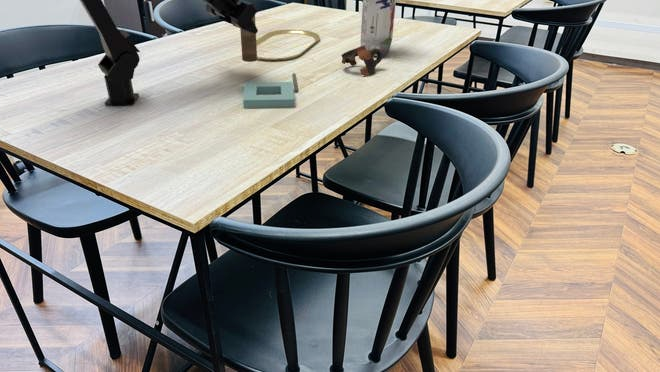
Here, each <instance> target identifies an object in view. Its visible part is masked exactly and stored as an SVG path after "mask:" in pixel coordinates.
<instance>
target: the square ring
mask: <svg viewBox="0 0 660 372" xmlns="http://www.w3.org/2000/svg"><path fill="white" fill-rule="evenodd" d="M243 89H244V90H243V98H242V102H243V109H258V108H259V109H261V108H262V109H264V108H265V109H268V108H269V109H270V108H271V109H273V108H274V109H275V108H276V109H277V108H295V95H294V84H293V81H271V82H270V81H265V82H264V81H257V82H253V81H252V82H249V81H248V82H244V88H243Z"/></svg>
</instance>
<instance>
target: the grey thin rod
mask: <svg viewBox="0 0 660 372" xmlns="http://www.w3.org/2000/svg"><path fill="white" fill-rule="evenodd" d="M292 80H293V81H292V83H293V91H294V92H295V93H298V91H299V87H298V80H297V74H296V73H295V72H293V73H292Z"/></svg>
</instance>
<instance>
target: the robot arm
mask: <svg viewBox="0 0 660 372" xmlns="http://www.w3.org/2000/svg"><path fill="white" fill-rule="evenodd" d="M79 1H80V2H79V3H81V5H82V7H83V9H84V11H85V12H86V13H87V15H88V17H89V18H90V21H92V23H93V25H94V26H95V27H94V28H95V29H96V30H97V32H98V34H99V37H100V38H99V39H100V42H101V45H102V48H103V51H104V53H105V54H104V56H103V57H102V58H101V60H100V61H99V62H98V63H97V65H98V68H99V69H100V71H101V72H102V73H103V74H104V77H103V78H104V83H105V87H106V91H107V95H108V98H107V99H106V101H105V102H104V106H132V105H133V106H134V105H135V102H136V101H137V99H138V97H140V95H139V93H137V92H135V93H134V86H133V82H132V80H133V78H134V74H135V69H136V68H137V67H138V66H139V63H140V60H141V59H140V55H139V53H140V52H141V50H140V49H138V48H137V46H136V43H135V41H134V39H133V37H132V35H131V34H129V33H128V32H127V31H126V30H124V29H121V30H119V28H118V27H117V26H116V24H115V22H114V20H113V19H112V17H111V15H110V13H109V12H108V10H107V8H106V6H105V4H104V2H103V1H102V0H79ZM239 1H240V0H202V2H204V4H205V7H206V12H207V13H209V15H211V16H212V17H215V18H216V17H217V16H219V17H218V19H219V20H221V21H223V22H225V23H227V24H230V25H232V26H234V27H236V28H238V29H239V30H240V29H243V30H246V31H249V32H252V33H255V34H256V35H257V33H258V31H259V30H258V27H257V26H255V24H256V23H255V24H254V22H253V20H252V18H253V17H254V16H255V17H256V14H257V13H258V11H259V10H258V8H257V6H256V5H255V4H253V3H251V2H248V1H241V2H240V3H239ZM238 3H239V4H238Z"/></svg>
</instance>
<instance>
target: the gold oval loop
mask: <svg viewBox="0 0 660 372" xmlns="http://www.w3.org/2000/svg"><path fill="white" fill-rule="evenodd" d="M288 34H289V35H290V34H291V35H304V36H308V37H310V38H311V37H312V38H313V39H314V41H313V43H311V44H310V45H309V46H307V47H305V49H303V50H302V51H301V52H299V53H297V54H295V55H292V56H285V57H284V56H283V57H263V56H262V57H260V56H257V60H256V61H264V62H283V61H289V60H293V59H296V58H298V57H300V56H302V54H304V53H305V52H306V51H308V50H309V49H310V48H312V47H313V46H314V45H315V44H316V43H317V42H319V41H320V39H321V37H320V34H318V33H316V32H314V31H310V30H305V29H278V30H273V31H272V30H271V31H269V32H268V33H265V34H264V35H262V36H261V37H259V38H256V45H257V47H258V46H260V45H261V44H263V43H264V42H266V41H267V40H269V39H271V38H272V37H277V36H279V35H288Z"/></svg>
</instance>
